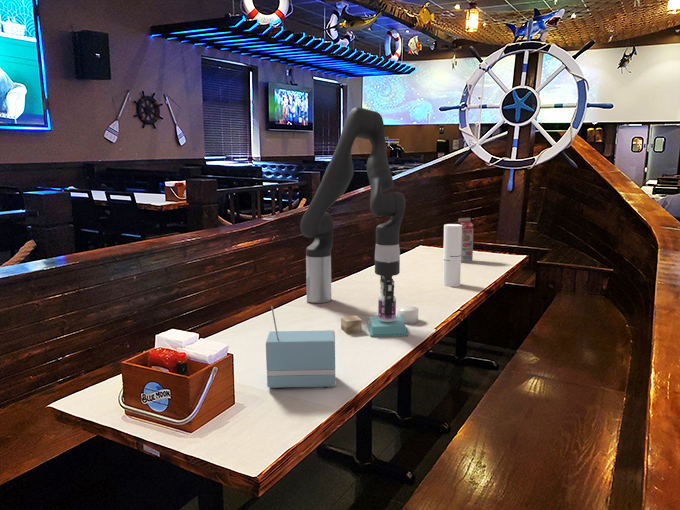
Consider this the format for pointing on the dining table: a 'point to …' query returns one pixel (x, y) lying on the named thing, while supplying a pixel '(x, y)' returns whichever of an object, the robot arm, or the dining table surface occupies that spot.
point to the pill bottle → (381, 310)
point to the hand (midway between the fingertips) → (386, 312)
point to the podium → (386, 327)
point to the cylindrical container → (452, 255)
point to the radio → (300, 358)
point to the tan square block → (351, 324)
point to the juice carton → (466, 239)
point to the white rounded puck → (408, 314)
